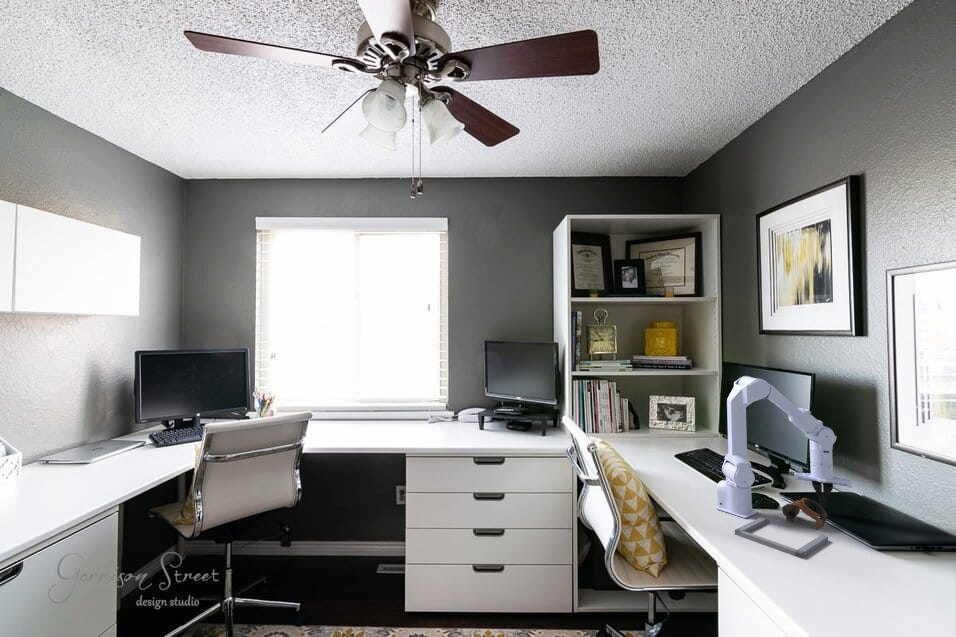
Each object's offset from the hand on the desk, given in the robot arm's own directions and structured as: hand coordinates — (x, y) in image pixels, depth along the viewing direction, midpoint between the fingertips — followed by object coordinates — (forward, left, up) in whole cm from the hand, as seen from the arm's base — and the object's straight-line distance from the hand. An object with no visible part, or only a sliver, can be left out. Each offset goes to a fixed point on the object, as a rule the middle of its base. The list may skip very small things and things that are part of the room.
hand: (823, 505), depth 144 cm
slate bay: (0, -28, -2) cm, 28 cm away
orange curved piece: (-1, -13, -3) cm, 14 cm away
